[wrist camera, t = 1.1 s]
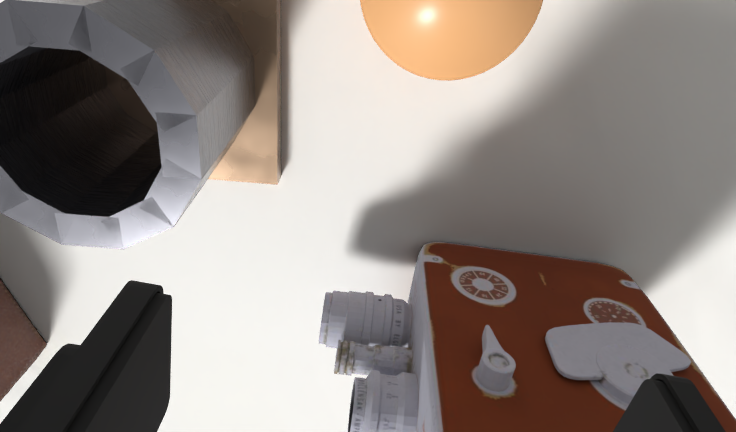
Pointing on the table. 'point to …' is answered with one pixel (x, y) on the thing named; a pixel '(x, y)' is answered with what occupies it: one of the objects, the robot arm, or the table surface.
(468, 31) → the cap
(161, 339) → the robot arm
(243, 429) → the table surface
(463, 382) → the cine camera
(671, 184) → the table surface
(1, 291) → the letter holder
